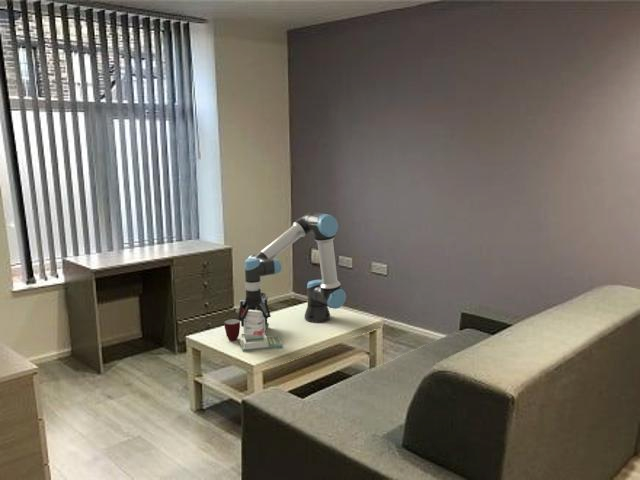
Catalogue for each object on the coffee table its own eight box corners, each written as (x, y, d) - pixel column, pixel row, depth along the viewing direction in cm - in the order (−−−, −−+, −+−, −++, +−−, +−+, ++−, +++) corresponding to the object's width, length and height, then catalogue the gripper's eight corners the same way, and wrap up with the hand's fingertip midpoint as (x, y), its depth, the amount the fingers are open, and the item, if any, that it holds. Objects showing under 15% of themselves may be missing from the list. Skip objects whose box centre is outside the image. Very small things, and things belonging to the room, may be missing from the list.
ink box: (264, 332, 273) (263, 310, 271) (260, 336, 268) (259, 313, 266) (249, 330, 276) (248, 308, 274) (244, 334, 271) (243, 311, 269)
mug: (219, 338, 283) (218, 320, 281) (231, 334, 289) (230, 317, 287) (231, 343, 276) (230, 325, 274) (243, 339, 282) (243, 321, 280)
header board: (277, 338, 283) (277, 330, 282) (282, 347, 270) (282, 339, 269) (239, 341, 278) (239, 334, 277) (242, 351, 265) (241, 343, 264)
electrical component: (260, 338, 283) (258, 302, 279) (241, 337, 285) (240, 301, 281) (269, 327, 300) (268, 293, 296) (252, 326, 302) (251, 292, 298)
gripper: (273, 285, 274) (274, 326, 278) (230, 288, 269) (232, 330, 273) (275, 289, 267) (277, 331, 271) (231, 292, 262) (233, 335, 266)
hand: (254, 331), depth 272 cm, fingers closed on ink box, 9 cm apart
